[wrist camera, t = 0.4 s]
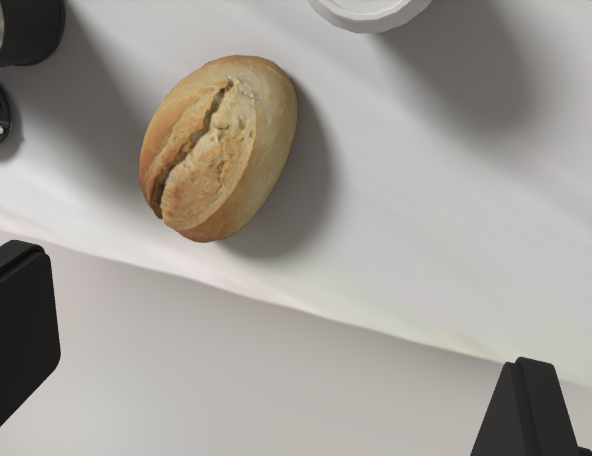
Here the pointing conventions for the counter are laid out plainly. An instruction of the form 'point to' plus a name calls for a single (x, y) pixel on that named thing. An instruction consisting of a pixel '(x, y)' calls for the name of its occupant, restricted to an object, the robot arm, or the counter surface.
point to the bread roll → (218, 146)
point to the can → (368, 13)
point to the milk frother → (27, 39)
